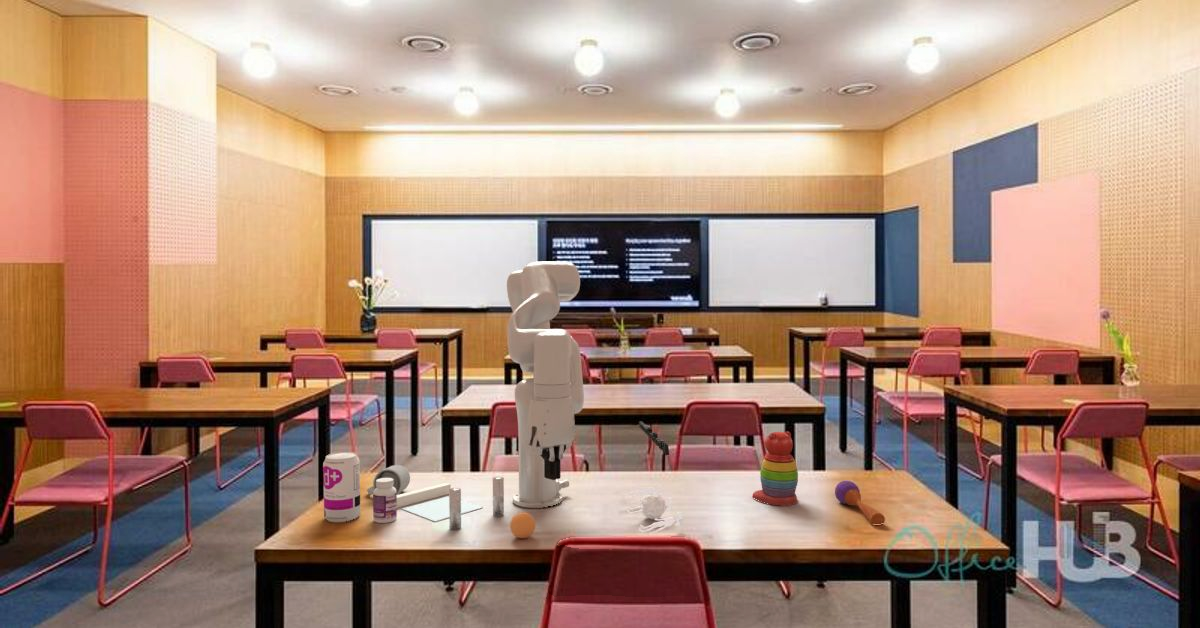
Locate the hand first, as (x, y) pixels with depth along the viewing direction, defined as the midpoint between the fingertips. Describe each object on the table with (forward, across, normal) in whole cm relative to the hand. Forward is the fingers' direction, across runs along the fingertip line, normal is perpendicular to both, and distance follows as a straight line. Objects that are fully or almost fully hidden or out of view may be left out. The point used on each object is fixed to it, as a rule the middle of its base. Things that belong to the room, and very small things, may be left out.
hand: (552, 478), depth 154 cm
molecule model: (+15, -29, +3) cm, 33 cm away
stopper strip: (+15, 0, -50) cm, 52 cm away
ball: (+12, 0, -10) cm, 16 cm away
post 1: (+15, +6, -26) cm, 30 cm away
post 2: (+15, -6, -26) cm, 30 cm away
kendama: (+16, -67, +38) cm, 78 cm away
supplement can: (+15, +20, -52) cm, 57 cm away
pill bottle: (+15, +14, -43) cm, 47 cm away
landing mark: (+15, 0, -40) cm, 42 cm away
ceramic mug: (+15, +2, -60) cm, 62 cm away
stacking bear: (+15, -62, +18) cm, 66 cm away
